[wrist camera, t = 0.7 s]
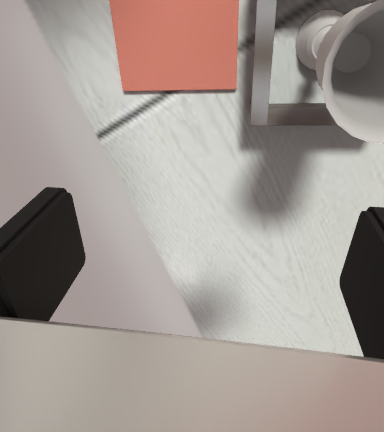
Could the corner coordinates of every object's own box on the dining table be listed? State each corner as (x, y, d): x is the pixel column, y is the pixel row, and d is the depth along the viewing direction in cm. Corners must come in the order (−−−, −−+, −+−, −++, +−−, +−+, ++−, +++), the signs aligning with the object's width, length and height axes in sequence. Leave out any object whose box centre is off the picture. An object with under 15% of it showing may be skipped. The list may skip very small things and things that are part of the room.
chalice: (382, 22, 29) (529, 39, 14) (333, 93, 33) (408, 166, 18) (313, -20, 28) (391, -49, 13) (270, 58, 32) (293, 104, 17)
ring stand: (257, -42, 28) (259, -50, 24) (422, -54, 26) (453, -64, 23) (249, 112, 35) (250, 125, 31) (380, 111, 33) (397, 125, 29)
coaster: (103, -53, 29) (101, -54, 29) (240, -63, 28) (240, -65, 27) (124, 89, 35) (122, 90, 35) (236, 87, 34) (236, 89, 33)
